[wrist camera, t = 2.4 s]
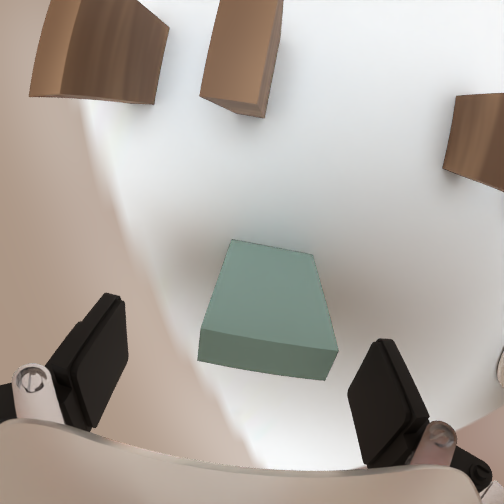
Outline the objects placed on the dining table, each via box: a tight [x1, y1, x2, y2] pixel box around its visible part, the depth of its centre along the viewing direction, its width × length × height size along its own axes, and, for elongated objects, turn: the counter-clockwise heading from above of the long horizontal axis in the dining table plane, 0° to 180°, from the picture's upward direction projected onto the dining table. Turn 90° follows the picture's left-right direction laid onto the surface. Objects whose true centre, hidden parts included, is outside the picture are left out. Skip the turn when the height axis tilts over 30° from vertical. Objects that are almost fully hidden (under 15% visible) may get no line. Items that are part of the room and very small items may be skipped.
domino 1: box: [29, 0, 169, 105], centre depth 11 cm, size 2×5×9 cm, turn 170°
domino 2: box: [199, 0, 284, 118], centre depth 11 cm, size 2×5×9 cm, turn 170°
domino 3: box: [197, 239, 339, 381], centre depth 15 cm, size 2×5×9 cm, turn 79°
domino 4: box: [443, 93, 504, 192], centre depth 11 cm, size 2×5×9 cm, turn 170°
